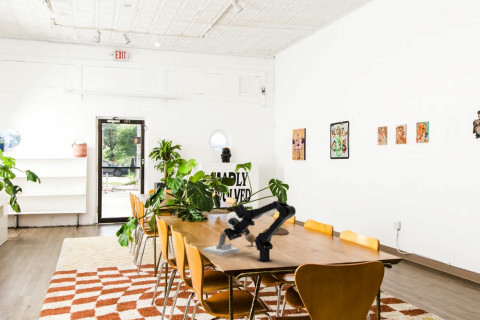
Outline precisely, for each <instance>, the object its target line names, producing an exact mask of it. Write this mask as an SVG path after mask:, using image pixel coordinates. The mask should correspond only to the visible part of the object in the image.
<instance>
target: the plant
mask: <svg viewBox="0 0 480 320" xmlns="http://www.w3.org/2000/svg"><path fill="white" fill-rule="evenodd" d="M276 219H277V218H275V219H274V221H275V220H276ZM283 225H284V223H283V224H282V225H281V227H280V228H279V229H278V230H277V231H276V232H275V234H274V235H273V236H279V237H281V236H288V235H289V234H290V232H289V230H288V229H285V228H284V227H283ZM267 229H268V228H265V229H264V230H262V233H263V232H266V231H267Z"/></svg>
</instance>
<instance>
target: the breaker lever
mask: <svg viewBox="0 0 480 320" xmlns="http://www.w3.org/2000/svg"><path fill="white" fill-rule="evenodd" d="M224 230H225V229H221V231H220V236H219V240H218V241H219V242H218V245H219V248H222V245H225V244H226V238H227V235H226V234H225V232H224Z"/></svg>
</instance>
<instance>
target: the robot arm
mask: <svg viewBox="0 0 480 320" xmlns="http://www.w3.org/2000/svg"><path fill="white" fill-rule="evenodd" d="M274 210H276V211H277V212H278V216H277V218H275V219H276V220H275V219H274V221H273V223H272V224H271V225H270V226H269V227H268V228H266V229H267V231H266V232H263V231H262V232H259V233H258V235H257V236H255V237H256V239H255V242H254V243H255V247H256V250H257V251H259V258H257V260H258V261H259V262H272V259H271V257H270V256H271V255H270V253H271V250H273V247H274V246H273V244H272V243H271V241H272V237H273V236H275V235H274V234H275V232H276V231H277V230H278V229H279V228H280V227H281V228H282V226H283V225H284V223H285V222H286V221H287V220H290V219H291V218H293V217H294V216H295V215H296V213H297V211H296V208H295V207H294V206H293V205H289V204H287V203H284V202H283V201H280V200H274V201H272V202H270V203H268V204H265V205H263V206H261V207H258V208H252V209H248V210H247V209H246V208H245V206H244V204H240V205H238V206H236V207H235V208H234V209H233V212H235V213H236V214H235V216H236V215H237V216H238V218H241V219H242V220H241V221H239V220H238V219H236V218H237V217H235V218H234V217H233V218H232V217H231V219H229V220H228V223H229V224H231V225H232V227H233V229H231V228H229V227H228V228H227V227H226V228H224V229H223V230H224V232H225V234H226V238H228V240H229V241H233V240H237V239H239V238H242V237H243V235H244V237H245V236H246V235H249V234H251V233H250V232H251V231H250V229H249V227H251V226H253V227H254V226H255V225H256V223H255V220H256V219H257V220H258V219H259V218H260V217H262V216H263V215H265V214H267V213H269V212H271V211H274ZM282 224H283V225H282ZM264 246H265V247H264Z"/></svg>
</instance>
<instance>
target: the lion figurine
mask: <svg viewBox="0 0 480 320" xmlns="http://www.w3.org/2000/svg"><path fill="white" fill-rule="evenodd" d="M256 237H257V236H255V235H254V234H252V233H250V234H249V235H246V236H245V235H244V238H245V240H246V241H247V242H248V243H250V245H249V246H250V248H252V247H253V246H254V243H255V239H256ZM264 247H265V246H264Z"/></svg>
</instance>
